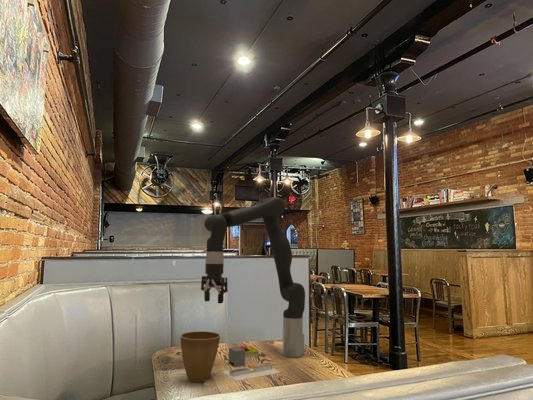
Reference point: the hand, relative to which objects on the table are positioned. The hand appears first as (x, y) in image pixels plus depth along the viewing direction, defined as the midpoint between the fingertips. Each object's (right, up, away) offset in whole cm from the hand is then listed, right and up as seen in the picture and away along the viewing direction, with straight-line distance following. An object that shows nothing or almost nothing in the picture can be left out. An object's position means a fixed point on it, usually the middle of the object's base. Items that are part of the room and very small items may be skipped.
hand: (213, 302), depth 153 cm
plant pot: (-3, -25, -15) cm, 29 cm away
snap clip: (+16, -24, -8) cm, 30 cm away
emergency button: (+12, -30, +17) cm, 37 cm away
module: (+9, -27, +1) cm, 29 cm away
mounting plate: (+16, -26, -9) cm, 32 cm away
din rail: (+16, -26, -9) cm, 32 cm away
